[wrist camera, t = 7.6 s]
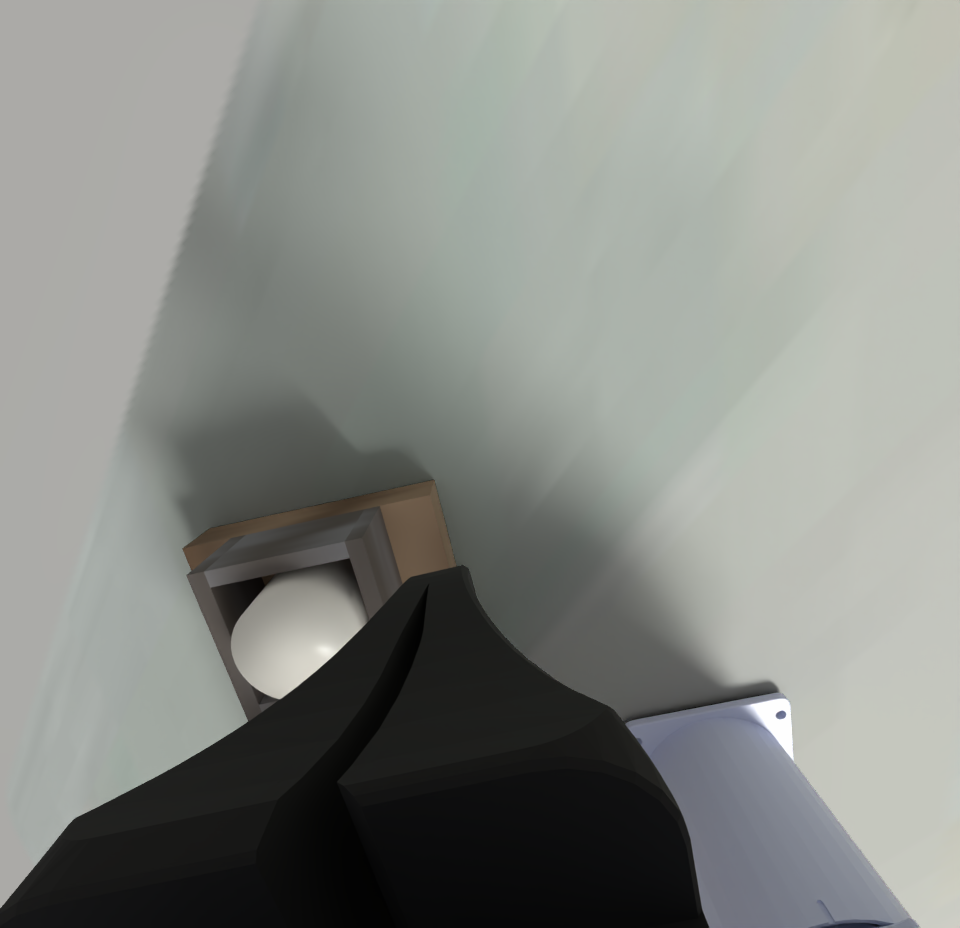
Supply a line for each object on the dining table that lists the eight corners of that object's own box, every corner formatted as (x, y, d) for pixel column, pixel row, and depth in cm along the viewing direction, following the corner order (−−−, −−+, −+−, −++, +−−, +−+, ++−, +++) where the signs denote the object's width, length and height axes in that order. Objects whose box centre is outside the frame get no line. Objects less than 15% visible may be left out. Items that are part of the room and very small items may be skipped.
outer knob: (388, 622, 20) (369, 688, 16) (295, 642, 20) (255, 711, 16) (361, 535, 19) (334, 584, 15) (263, 556, 19) (212, 609, 15)
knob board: (434, 479, 20) (422, 525, 15) (517, 801, 25) (528, 914, 20) (209, 528, 21) (128, 587, 16) (332, 836, 25) (299, 954, 20)
